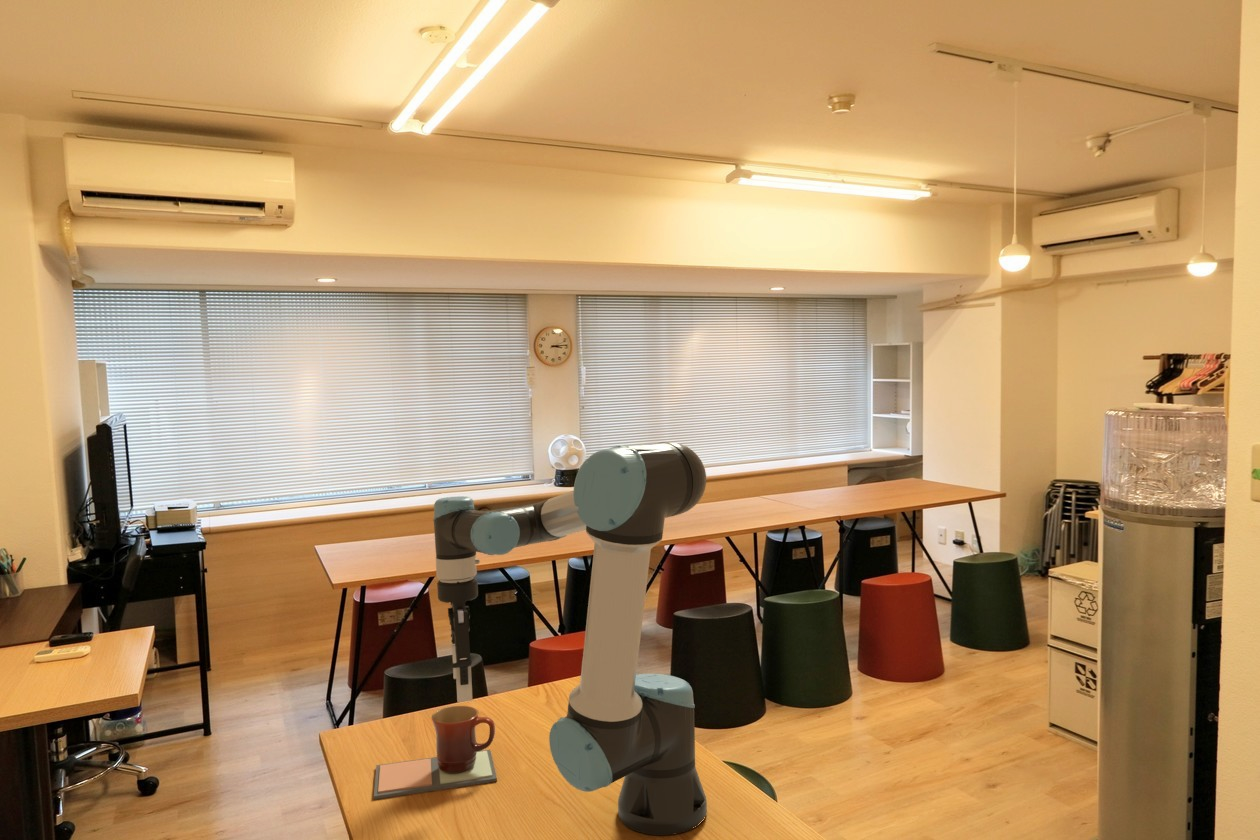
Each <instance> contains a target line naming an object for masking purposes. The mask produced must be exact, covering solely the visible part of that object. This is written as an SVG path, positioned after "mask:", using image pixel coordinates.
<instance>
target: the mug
mask: <svg viewBox="0 0 1260 840" xmlns="http://www.w3.org/2000/svg"><path fill="white" fill-rule="evenodd" d="M431 721H432V725H433V727H434V729H435V734H436V735H435V736H436V757H437V763H438V767H439V769H440V770H442V771H443V772H446V773H450V774H456V773H462V772H465V771H467V770H469V769H471V768H472V767H473V766H474V764H475V761H476V754H477V752H478V751H484V750H487V749H488V748H489V747H490V745H491V744H492V742H493V740H494V738H495V734H496V725H495V722H494V720H493V719H492V718H491V717H487V716H479V710H478V709H477V708H475V707H474V706H468V705H453V706H452V705H451V706H447V707H444V708H441V709H439V710H436V711H435V712H433V714H432V715H431ZM480 724H487V725H488V726H489V734H488V739H487V740H486V741H485V742H483V743H479V742H477V739H476V726H478V725H480Z"/></svg>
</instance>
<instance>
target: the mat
mask: <svg viewBox="0 0 1260 840" xmlns="http://www.w3.org/2000/svg"><path fill="white" fill-rule="evenodd" d="M496 772H497V771H496V767H495V764H494V760H493V755H492V750H491V749H484V750H481V751H478V752H477V754H476V761H475V764H474V766H473V767H472V768H471V769H469V770H467V771H465V772H462V773H456V774H450V773H446V772H443V771H442V770H440V769H439V767H438V763H437V756H434V757H427V758H426V757H425V758H420V759H413V760H404V761H403V760H402V761H397V762H390V763H383V764H376V766H375V777H374V789H373V800H380V799H387V798H394V797H400V796H408V795H413V794H421V793H427V792H433V791H441V790H447V789H455V788H462V787H467V786H468V787H469V786H474V785H481V784H488V783H489V784H490V783H495V782H496V783H497V781H498V778H497V773H496Z"/></svg>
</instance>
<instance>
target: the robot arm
mask: <svg viewBox="0 0 1260 840" xmlns="http://www.w3.org/2000/svg"><path fill="white" fill-rule="evenodd" d="M706 473H707V472H706V468H705V466H704V463H703V461H702V460H701V458H700V457H699V455H697V453H695V451H693V450H692V449H691V448H689V446H686V445H684V444H682V443H677V442H673V441H671V442H669V441H663V442H658V443H646V444H637V445H625V446H624V445H615V446H612V447H610V448H606V449H601V450H597V451H596V452H594V453H592V454H591V455H590V456H589V457H588V458H586V459H585V461H584V462H583V463H582V464H581V466H580V467H579V469H578V471H577V474H576V476H575V480H574V485H573V490H571V491H569V492H565V493H563V494H559V495H556V496H554V497H551V498H548V499H544V500H541V501H540V502H534V503H531V504H525V505H520V506H519V505H518V506H512V507H506V508H505V507H503V508H498V509H491V510H476V508H475V505H474V504H475V503H474V500H473V498H471V497H470V496H460V495H459V496H448V497H441V498H439V499H437V500H436V501H435V502H434V505H433V519H432V521H433V528H434V529H433V530H434V531H433V532H434V545H435V568H436V569H435V570H436V571H435V572H436V573H435V575H436V578H437V579H438V581H437V584H436V585H437V586H436V587H437V599H438V600H439V601H440V602H441V603H445V604H446V603H447V604H449V603H450V607H448V608H447V613H448V616H447V617H448V620H449V625H450V631H451V634H450V637H451V643H452V645H451V650H452V651H451V653H452V655H451V656H452V665H451V666H452V672H453V673H452V674H453V676H452V677H453V680H456V681H455V683H456V700H457V702H456V703H462V702H464V703H465V702H470V701H471V702H472V701H473V685H472V684H473V683H472V681H473V680H472V663H473V662H472V659H471V646H470V645H471V644H470V633H469V632H470V631H471V629H470V628H471V625H470V618H471V610H470V607H469V605H466V602H467V601H473V600H475V599H477V597H479V587H478V586H479V584H478V579H477V578H476V576H477V574H478V572H477V569H478V567H477V565H479V564H480V562H481V561H480V559H479V558H477V553H480V554H484V555H487V556H495V555H496V556H502V555H503V556H504V555H506V554H507V555H508V554H509V553H510V552H512V551H513V549H516V548H521V547H525V546H528V545H535V544H539V543H544V542H553V541H557V540H560V539H563V538H565V537H567V536H568V535H572V534H575V533H580V532H582V531H585V532H586V534H587V535H588V537H589V538H590V539H591V540H592V542H594V547H593V556H592V567H591V573H590V575H591V576H590V584H589V595H588V603H587V605H588V606H587V613H586V625H585V634H584V643H583V651H582V655H583V656H582V661H581V673H580V682H579V684H578V685H576V687H574V688H573V689H572V690H571V691H570V692H569V695H568V702H567V703H568V705H567V713H566V716H564V717H559V719H557V721H555V722H554V723H553V724H552V726H551V728H550V731H549V737H548V738H549V740H548V741H549V750H550V752H551V756H552V759H553V762H554V764H555V765H556V768H557V769H558V771H559V773H560V774H561V776H562V777H563V779H565V781H566V782H567V783H568V784H570V786H572V787H573V788H575V789H576V790H579V791H580V792H586V793H588V792H594V791H596V790H599V789H602V788H607V787H609V786H611V784H613V783H614V782H616V781H619V780H620V779H623V781H622V785H621V788H620V792H619V795H618V799H617V812H618V813H617V815H618V818H619V820H620V822H621V823H622V824H623V825H625V827H627V828H630V829H631V830H633V831H635V832H638V833H642V834H646V835H653V836H670V835H669V834H672V835H675V834H674V833H678V834H682V833H681V832H683V833H686V832H688V831H687V830H689V831H691V830H693V829H694V828H693V827H695V826H697V825H698V824H699V823H700V822H701V821H702V820H703V819H704V817H705V816H706V817H707V815H706V813H707V814H708V805H707V802H708V801H707V796H706V793H705V790H704V788H703V785H702V782H701V779H700V776H699V773H698V771H697V768H696V742H695V741H696V740H695V739H696V736H695V734H696V733H695V731H696V730H695V727H696V726H695V708H696V707H695V706H696V705H695V703H694V692H693V688H692V686H691V685H690V683H689V682H688V681H686V680H685V679H682V678H680V677H677V676H674V675H669V674H662V673H639V674H638V673H637V671H638V665H639V664H638V663H639V654H640V645H641V636H642V629H643V618H644V609H645V603H646V595H647V594H646V593H647V587H648V586H647V584H648V576H649V569H650V560H651V550H652V549H653V548H654V547H655V546H657V545H659V544H660V543H661V542H662V540H663V536H664V535H663V534H664V528H665V526H664V525H665V519H666V518H670V517H675V516H679V515H682V514H684V513H686V512H689V511H690V510H691V509H693V508H694V507H695V506H697V504H698V503H699V502H700V501H701V499H702V498H703V496H704V494H705V490H706V486H707V474H706ZM697 827H698V826H697ZM692 828H693V829H692ZM695 828H696V827H695ZM690 829H691V830H690ZM685 831H686V832H685Z"/></svg>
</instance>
